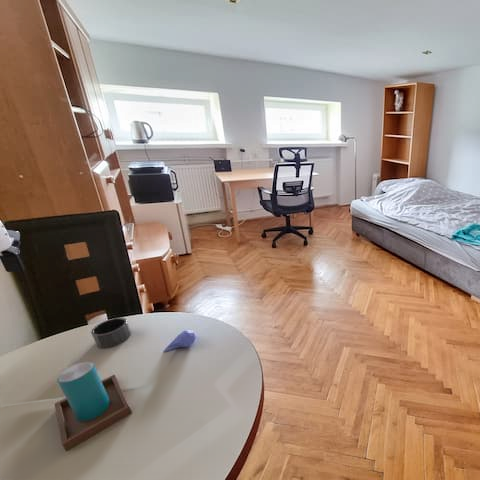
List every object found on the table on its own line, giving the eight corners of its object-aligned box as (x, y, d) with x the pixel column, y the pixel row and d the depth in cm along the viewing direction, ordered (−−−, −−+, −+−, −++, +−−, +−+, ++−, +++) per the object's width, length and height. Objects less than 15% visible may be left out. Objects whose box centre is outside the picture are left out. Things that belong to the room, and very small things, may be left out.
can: (70, 423, 60) (48, 384, 56) (88, 400, 65) (70, 362, 61) (100, 419, 61) (81, 380, 57) (116, 396, 66) (100, 359, 62)
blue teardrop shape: (204, 337, 85) (191, 328, 87) (191, 331, 80) (178, 322, 83) (184, 363, 81) (171, 353, 84) (170, 358, 77) (156, 348, 79)
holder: (90, 351, 80) (83, 337, 79) (108, 332, 88) (103, 319, 86) (121, 347, 82) (116, 333, 80) (137, 329, 89) (132, 316, 87)
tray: (57, 409, 64) (54, 403, 63) (117, 380, 71) (114, 374, 70) (66, 451, 55) (62, 444, 55) (132, 412, 63) (129, 406, 62)
